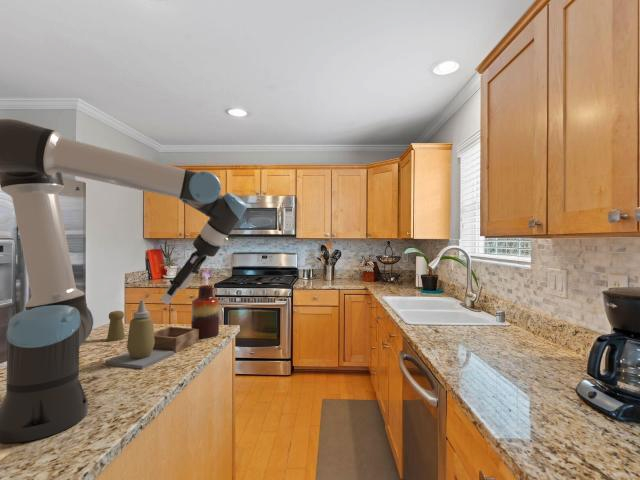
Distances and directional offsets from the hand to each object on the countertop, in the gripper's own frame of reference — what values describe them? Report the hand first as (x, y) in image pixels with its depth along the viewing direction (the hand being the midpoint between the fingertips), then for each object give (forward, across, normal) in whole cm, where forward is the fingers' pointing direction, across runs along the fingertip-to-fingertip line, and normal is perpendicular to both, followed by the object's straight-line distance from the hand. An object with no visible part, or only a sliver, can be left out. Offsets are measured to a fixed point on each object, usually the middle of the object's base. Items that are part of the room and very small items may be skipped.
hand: (172, 294), depth 103 cm
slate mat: (+25, +2, -3) cm, 26 cm away
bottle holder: (+25, +16, -8) cm, 30 cm away
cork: (+41, +25, +11) cm, 49 cm away
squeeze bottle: (+25, +2, -3) cm, 25 cm away
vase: (+23, +29, -17) cm, 41 cm away
